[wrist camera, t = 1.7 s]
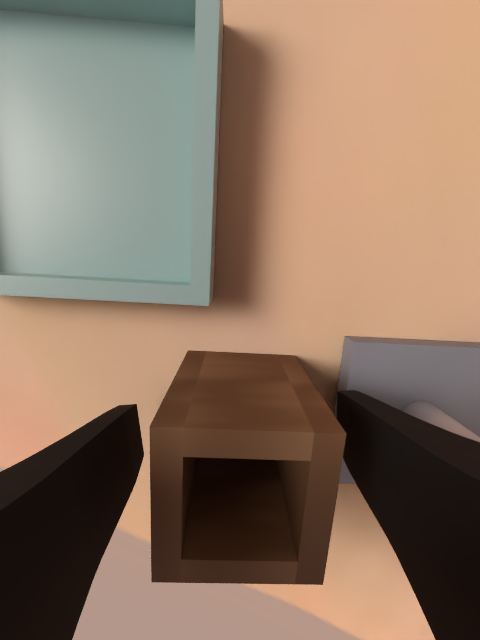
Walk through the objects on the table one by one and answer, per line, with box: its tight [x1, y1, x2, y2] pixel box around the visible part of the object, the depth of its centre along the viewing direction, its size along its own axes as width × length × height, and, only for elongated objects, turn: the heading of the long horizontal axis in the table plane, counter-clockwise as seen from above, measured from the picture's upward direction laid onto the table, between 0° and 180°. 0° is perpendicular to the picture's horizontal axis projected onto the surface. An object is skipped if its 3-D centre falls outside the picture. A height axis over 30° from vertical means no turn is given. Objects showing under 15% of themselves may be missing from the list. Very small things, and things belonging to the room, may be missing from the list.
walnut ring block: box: [150, 351, 346, 585], centre depth 9 cm, size 4×4×5 cm
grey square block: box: [334, 336, 480, 484], centre depth 9 cm, size 6×6×4 cm
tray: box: [0, 0, 224, 306], centre depth 8 cm, size 9×9×2 cm
